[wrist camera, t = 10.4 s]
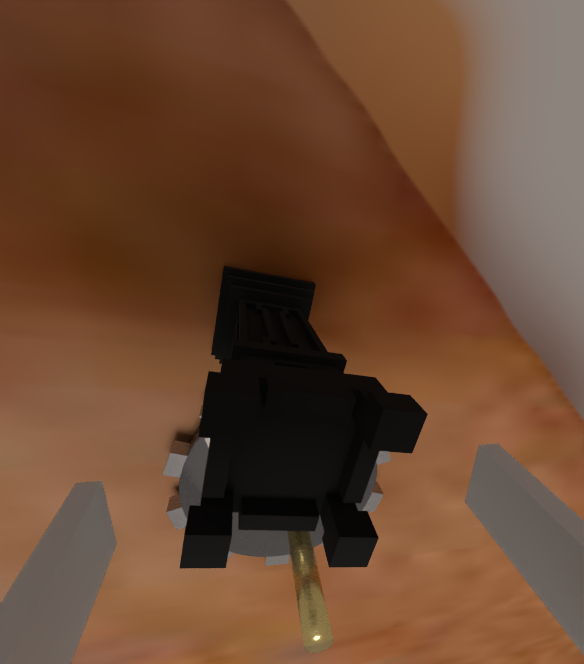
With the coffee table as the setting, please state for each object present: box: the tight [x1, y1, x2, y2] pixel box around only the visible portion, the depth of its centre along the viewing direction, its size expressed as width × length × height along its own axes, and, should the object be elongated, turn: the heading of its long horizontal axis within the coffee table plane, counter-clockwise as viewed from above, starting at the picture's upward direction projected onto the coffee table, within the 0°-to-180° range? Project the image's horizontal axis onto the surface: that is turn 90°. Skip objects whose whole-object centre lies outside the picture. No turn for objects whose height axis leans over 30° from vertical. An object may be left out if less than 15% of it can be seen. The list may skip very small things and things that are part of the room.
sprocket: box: [163, 405, 391, 653], centre depth 29 cm, size 23×23×12 cm
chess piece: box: [180, 266, 427, 568], centre depth 20 cm, size 8×8×20 cm
